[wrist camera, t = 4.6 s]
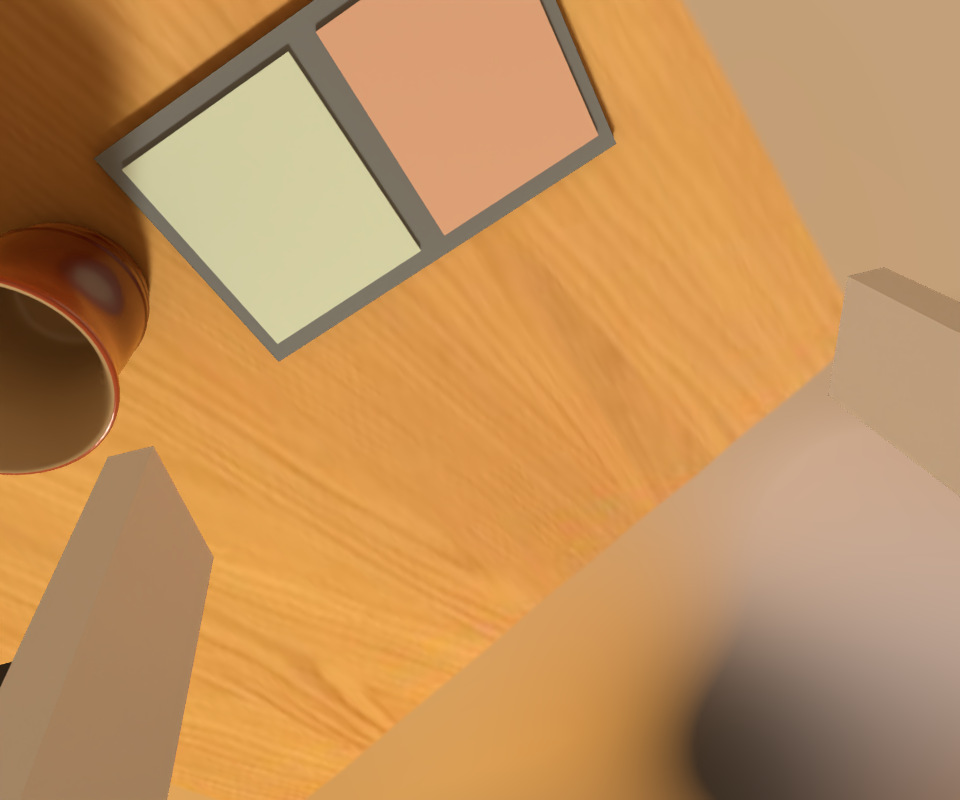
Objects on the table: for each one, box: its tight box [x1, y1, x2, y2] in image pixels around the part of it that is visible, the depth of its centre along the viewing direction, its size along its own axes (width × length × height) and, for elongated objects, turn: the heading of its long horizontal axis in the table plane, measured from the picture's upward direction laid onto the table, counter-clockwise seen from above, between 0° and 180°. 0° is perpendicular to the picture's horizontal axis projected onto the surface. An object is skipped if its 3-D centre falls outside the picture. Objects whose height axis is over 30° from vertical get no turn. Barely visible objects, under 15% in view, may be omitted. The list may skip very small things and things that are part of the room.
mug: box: [0, 223, 149, 475], centre depth 29 cm, size 12×9×10 cm
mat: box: [94, 0, 616, 361], centre depth 32 cm, size 13×22×1 cm, turn 120°
